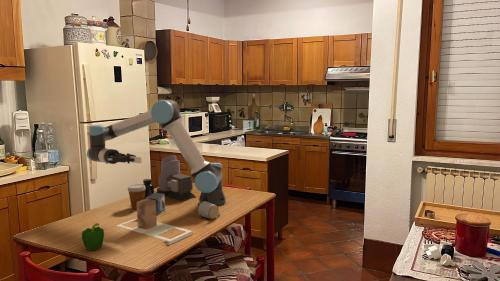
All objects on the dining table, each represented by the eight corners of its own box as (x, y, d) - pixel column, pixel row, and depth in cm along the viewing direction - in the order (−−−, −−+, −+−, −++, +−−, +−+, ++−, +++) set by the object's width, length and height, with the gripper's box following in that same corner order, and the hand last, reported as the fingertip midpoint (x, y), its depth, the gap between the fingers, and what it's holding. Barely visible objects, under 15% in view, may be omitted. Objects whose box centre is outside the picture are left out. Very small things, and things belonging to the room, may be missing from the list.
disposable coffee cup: (133, 211, 202) (132, 189, 201) (125, 207, 209) (124, 186, 208) (149, 207, 208) (148, 186, 207) (141, 203, 216) (140, 183, 214)
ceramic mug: (209, 221, 186) (209, 205, 185) (197, 217, 191) (197, 202, 190) (224, 216, 194) (224, 201, 193) (213, 212, 199) (213, 198, 198)
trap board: (116, 228, 177) (115, 225, 176) (139, 220, 188) (139, 217, 188) (169, 244, 157) (169, 241, 157) (192, 234, 169) (192, 230, 169)
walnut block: (137, 227, 174) (136, 201, 172) (147, 223, 179) (146, 198, 177) (146, 229, 171) (145, 203, 169) (156, 225, 176) (155, 200, 174)
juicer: (151, 192, 240) (149, 154, 237) (173, 187, 251) (172, 151, 248) (176, 202, 218) (175, 160, 215) (199, 196, 229) (198, 156, 226)
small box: (157, 219, 189) (156, 198, 188) (145, 218, 191) (144, 198, 189) (166, 212, 200) (165, 193, 198) (154, 211, 201) (153, 192, 200)
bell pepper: (82, 254, 149) (81, 229, 148) (82, 246, 157) (81, 223, 155) (105, 250, 153) (104, 226, 151) (104, 243, 160) (103, 220, 159)
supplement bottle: (139, 199, 223) (138, 180, 222) (149, 197, 229) (148, 177, 227) (147, 201, 219) (146, 181, 218) (156, 199, 224) (155, 179, 223)
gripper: (120, 161, 203) (150, 165, 190) (99, 165, 193) (129, 170, 180) (119, 147, 202) (150, 150, 189) (98, 150, 192) (128, 154, 179)
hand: (140, 160), depth 184 cm, fingers closed
